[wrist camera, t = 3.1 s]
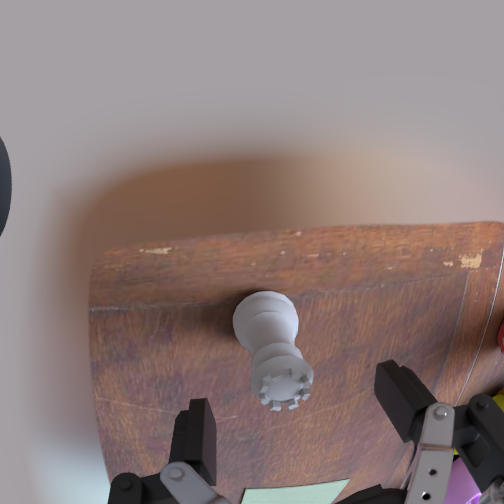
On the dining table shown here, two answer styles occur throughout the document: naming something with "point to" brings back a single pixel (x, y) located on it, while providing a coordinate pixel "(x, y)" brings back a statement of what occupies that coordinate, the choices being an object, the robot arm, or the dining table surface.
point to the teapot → (461, 486)
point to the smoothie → (501, 337)
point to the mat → (295, 494)
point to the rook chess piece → (273, 349)
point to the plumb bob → (501, 399)
